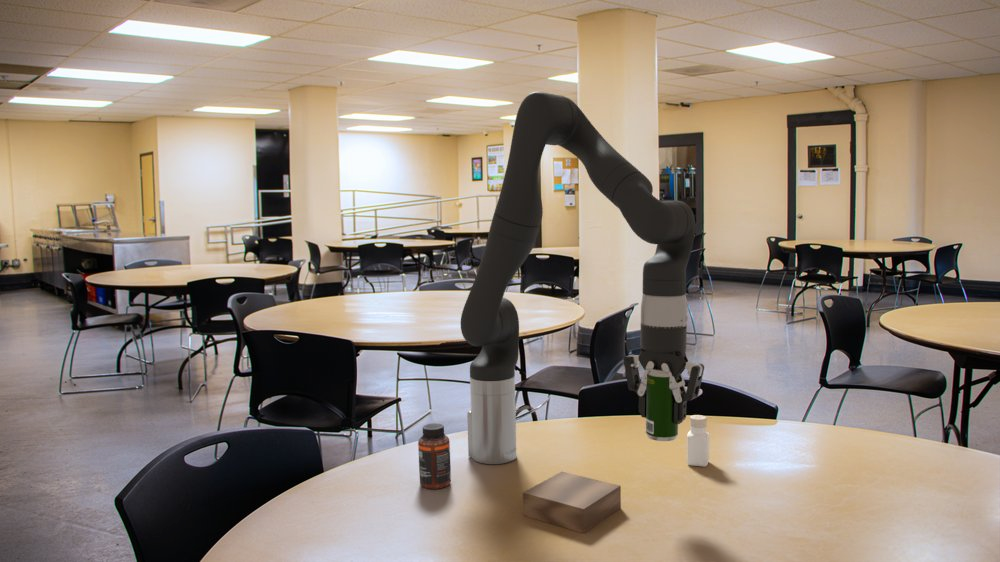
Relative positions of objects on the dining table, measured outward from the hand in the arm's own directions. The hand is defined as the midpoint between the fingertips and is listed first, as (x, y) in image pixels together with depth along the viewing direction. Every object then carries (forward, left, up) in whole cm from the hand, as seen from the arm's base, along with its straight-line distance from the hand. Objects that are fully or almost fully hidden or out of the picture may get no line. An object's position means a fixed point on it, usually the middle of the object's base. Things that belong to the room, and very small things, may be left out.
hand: (662, 419), depth 127 cm
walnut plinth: (-12, -10, -16) cm, 22 cm away
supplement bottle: (-40, -14, -16) cm, 45 cm away
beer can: (0, 0, -3) cm, 3 cm away
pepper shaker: (-4, +24, -16) cm, 29 cm away
